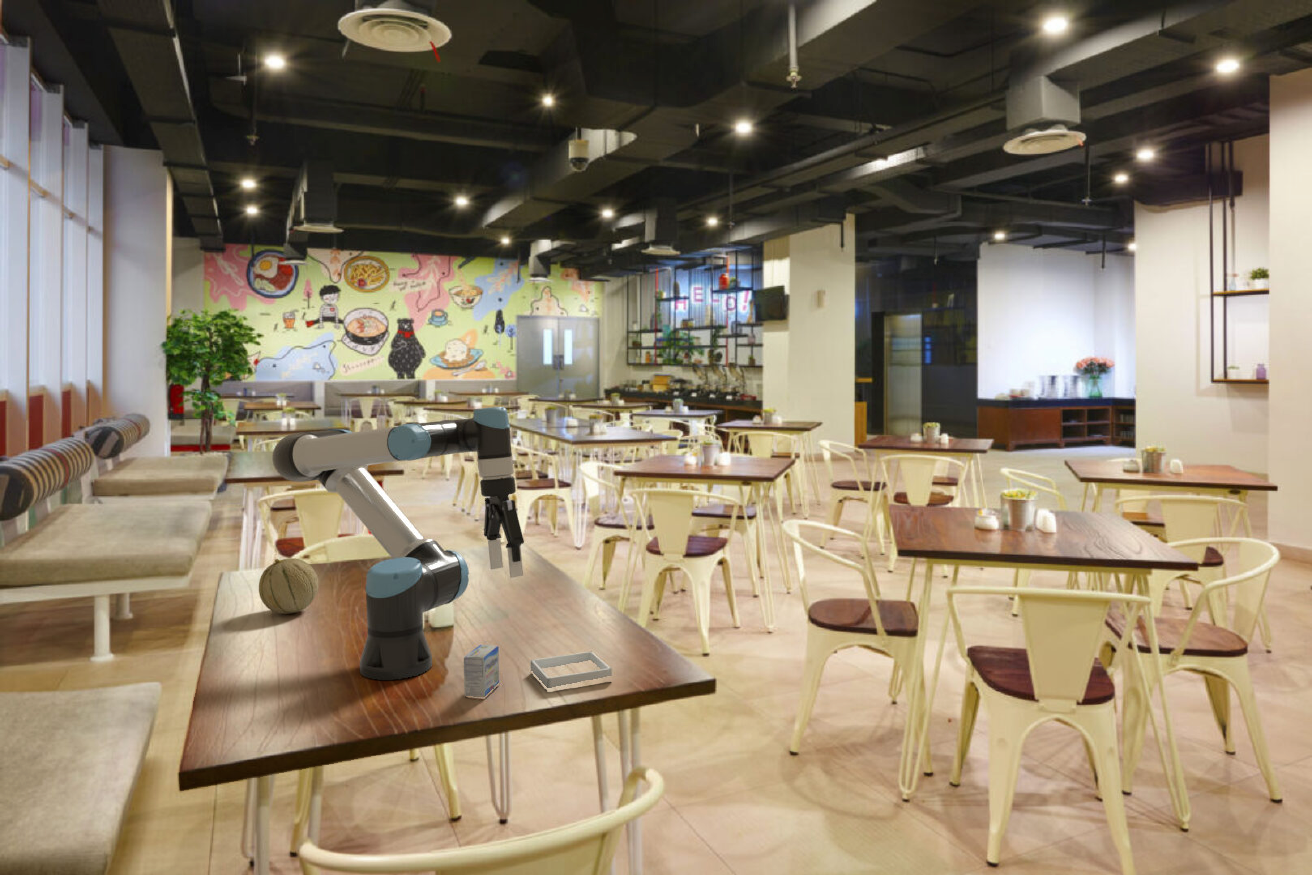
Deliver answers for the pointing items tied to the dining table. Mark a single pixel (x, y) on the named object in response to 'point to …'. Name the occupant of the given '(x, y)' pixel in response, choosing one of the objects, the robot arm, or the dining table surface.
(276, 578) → the cantaloupe
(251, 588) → the dining table surface
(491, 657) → the medicine box
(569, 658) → the walled tray
